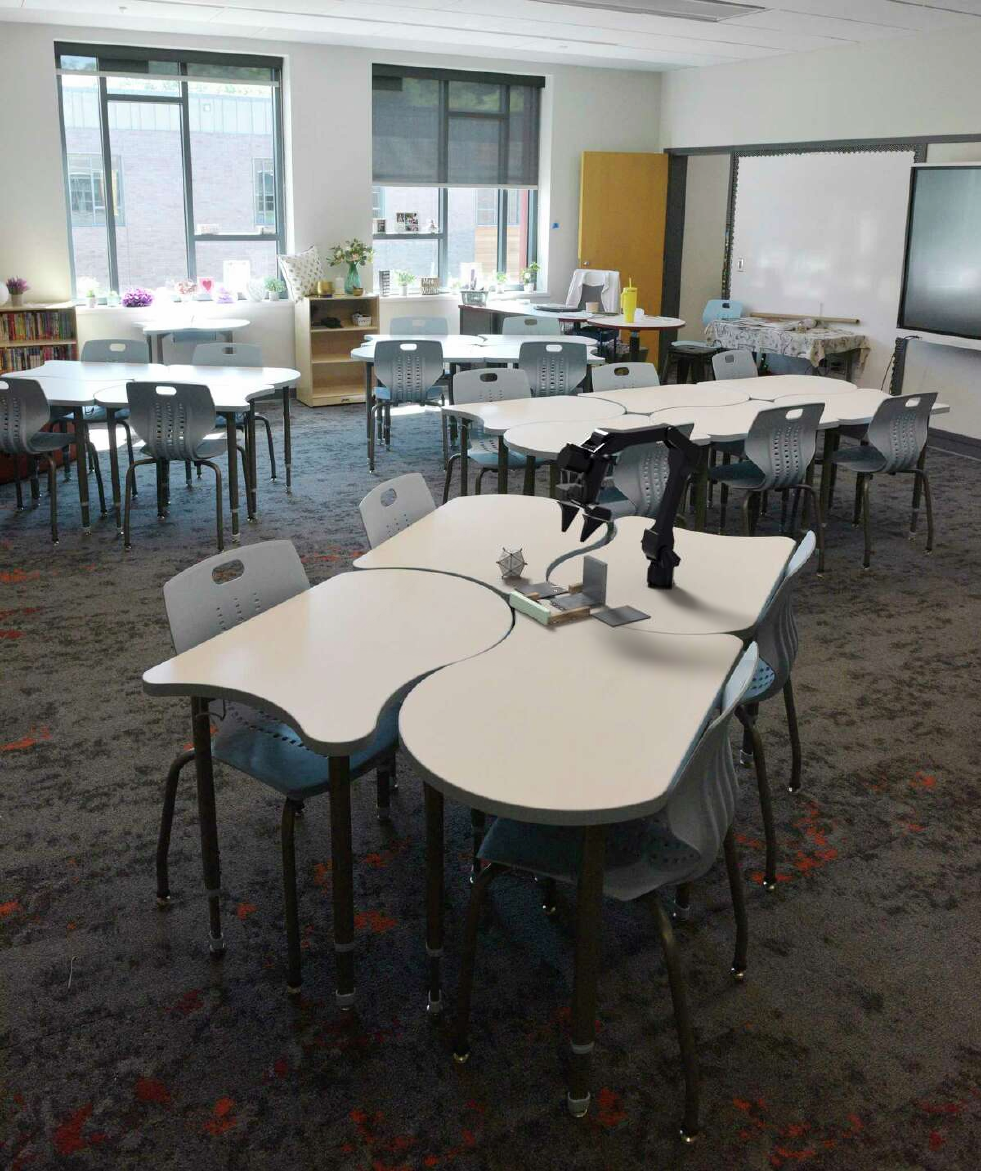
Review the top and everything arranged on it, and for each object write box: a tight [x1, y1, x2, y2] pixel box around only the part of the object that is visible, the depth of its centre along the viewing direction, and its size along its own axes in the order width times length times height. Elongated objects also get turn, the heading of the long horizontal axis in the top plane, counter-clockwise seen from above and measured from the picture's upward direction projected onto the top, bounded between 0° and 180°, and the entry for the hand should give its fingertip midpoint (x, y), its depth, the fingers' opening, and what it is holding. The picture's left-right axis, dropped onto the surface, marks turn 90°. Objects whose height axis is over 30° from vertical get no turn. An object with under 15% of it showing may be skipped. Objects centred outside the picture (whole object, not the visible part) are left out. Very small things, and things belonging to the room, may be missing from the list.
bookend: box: [548, 555, 608, 611], centre depth 275 cm, size 12×8×11 cm, turn 122°
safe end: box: [509, 590, 552, 626], centre depth 268 cm, size 2×16×4 cm, turn 32°
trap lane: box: [514, 580, 652, 628], centre depth 275 cm, size 25×34×2 cm
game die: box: [495, 547, 528, 580], centre depth 294 cm, size 9×8×10 cm
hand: (572, 537), depth 273 cm, fingers open, 9 cm apart
